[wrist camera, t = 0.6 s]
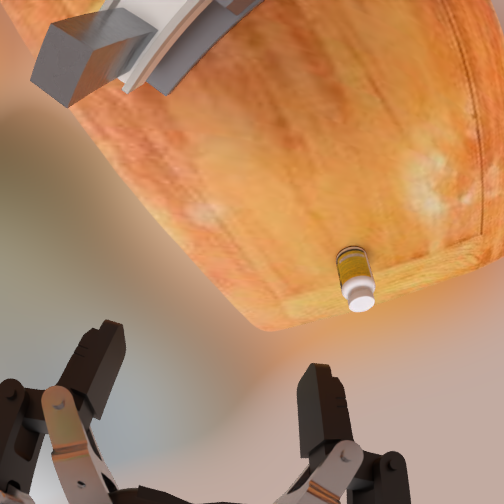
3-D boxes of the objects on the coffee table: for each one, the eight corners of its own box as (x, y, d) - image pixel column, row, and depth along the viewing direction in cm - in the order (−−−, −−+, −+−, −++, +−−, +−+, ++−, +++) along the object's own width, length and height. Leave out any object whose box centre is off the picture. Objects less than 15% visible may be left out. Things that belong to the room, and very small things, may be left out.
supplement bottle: (329, 255, 46) (337, 303, 39) (357, 240, 43) (371, 287, 36) (344, 272, 48) (354, 319, 41) (371, 258, 46) (384, 304, 38)
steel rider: (97, 48, 18) (30, 80, 12) (122, 7, 15) (50, 23, 9) (129, 71, 20) (67, 108, 14) (158, 30, 17) (93, 50, 11)
